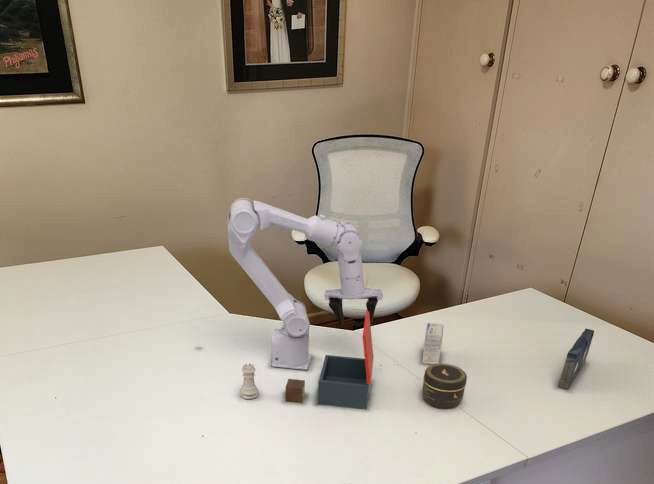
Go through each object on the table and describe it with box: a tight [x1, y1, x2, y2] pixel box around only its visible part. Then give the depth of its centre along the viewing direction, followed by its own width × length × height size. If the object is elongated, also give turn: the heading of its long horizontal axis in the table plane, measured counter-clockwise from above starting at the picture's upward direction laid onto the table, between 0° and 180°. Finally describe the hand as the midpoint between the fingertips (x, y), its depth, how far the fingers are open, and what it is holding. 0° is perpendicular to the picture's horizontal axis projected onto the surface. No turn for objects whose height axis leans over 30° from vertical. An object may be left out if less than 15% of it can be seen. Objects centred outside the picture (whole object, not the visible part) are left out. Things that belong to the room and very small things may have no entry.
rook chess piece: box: [239, 363, 259, 401], centre depth 147 cm, size 4×4×8 cm
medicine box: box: [421, 322, 444, 365], centre depth 167 cm, size 8×4×9 cm, turn 168°
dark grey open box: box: [317, 354, 370, 410], centre depth 150 cm, size 12×14×6 cm
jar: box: [421, 363, 468, 410], centre depth 149 cm, size 10×10×8 cm
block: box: [284, 378, 306, 404], centre depth 148 cm, size 4×4×4 cm
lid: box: [362, 310, 374, 386], centre depth 145 cm, size 12×14×1 cm
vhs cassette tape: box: [558, 328, 595, 390], centre depth 161 cm, size 18×3×10 cm, turn 145°
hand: (356, 324), depth 160 cm, fingers open, 7 cm apart
